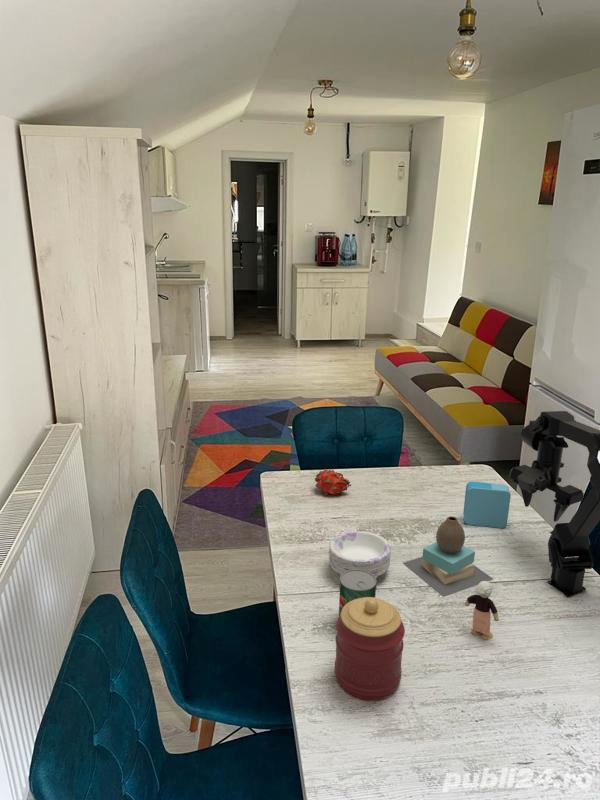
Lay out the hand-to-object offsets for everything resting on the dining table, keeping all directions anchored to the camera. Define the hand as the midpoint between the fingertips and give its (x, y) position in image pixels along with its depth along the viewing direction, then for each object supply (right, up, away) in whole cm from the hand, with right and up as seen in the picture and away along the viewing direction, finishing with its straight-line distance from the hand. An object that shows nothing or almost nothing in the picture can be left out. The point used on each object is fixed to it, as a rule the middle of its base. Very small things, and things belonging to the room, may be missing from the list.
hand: (540, 513), depth 158 cm
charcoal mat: (-26, -14, -5) cm, 30 cm away
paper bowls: (-48, -14, -6) cm, 51 cm away
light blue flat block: (-9, -7, +19) cm, 22 cm away
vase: (-26, -8, -7) cm, 28 cm away
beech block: (-26, -13, -5) cm, 30 cm away
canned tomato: (-51, -20, -24) cm, 59 cm away
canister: (-50, -25, -40) cm, 68 cm away
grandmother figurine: (-24, -21, -27) cm, 42 cm away
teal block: (-26, -11, -6) cm, 29 cm away
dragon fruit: (-53, 0, +37) cm, 65 cm away
